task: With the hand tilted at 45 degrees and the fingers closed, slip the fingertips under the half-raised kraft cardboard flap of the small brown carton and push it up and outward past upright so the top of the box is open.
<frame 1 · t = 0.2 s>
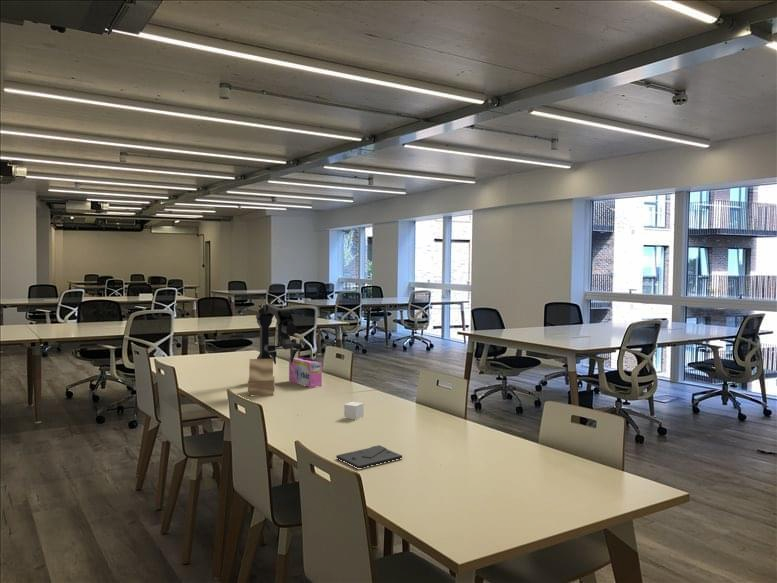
hand: (283, 363, 306), 14 cm above the table, tool pointing down, fingers open, 9 cm apart
flap: (261, 369, 298), point 13 cm above the table, hinge at 59.8°, touching gripper
carton: (261, 393, 302), on the table
gum box: (305, 384, 326), on the table
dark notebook: (369, 461, 200), on the table
white cube: (353, 418, 255), on the table
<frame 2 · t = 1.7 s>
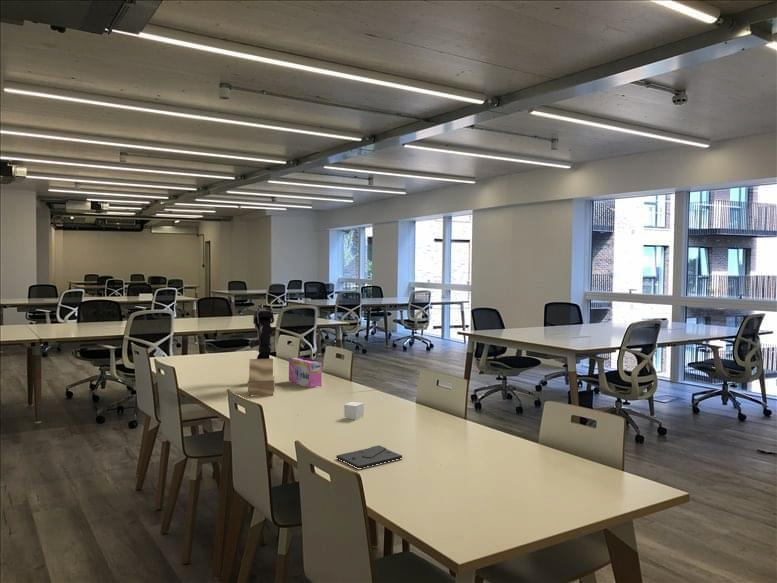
hand: (265, 363, 316), 13 cm above the table, tool pointing down, fingers closed
flap: (261, 369, 298), point 13 cm above the table, hinge at 59.6°
everything else where it was.
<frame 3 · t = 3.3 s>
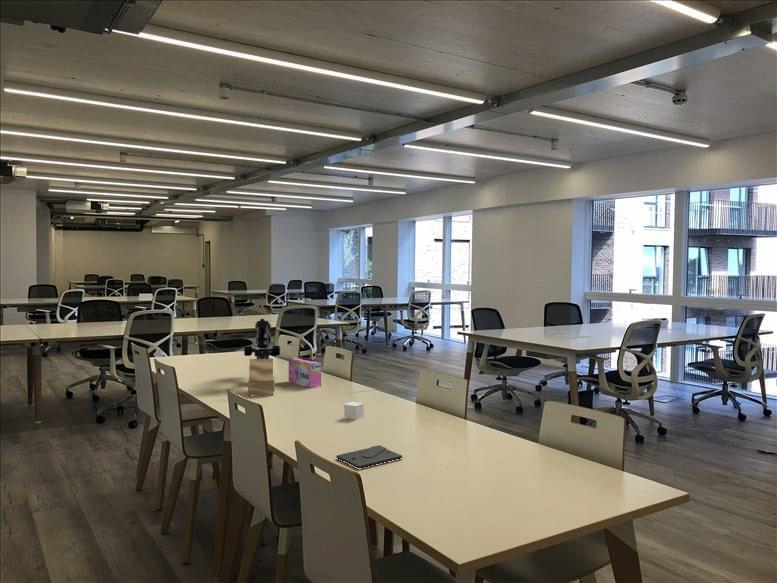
hand: (262, 363, 311), 14 cm above the table, tool tilted 45°, fingers closed
nothing on the table moved.
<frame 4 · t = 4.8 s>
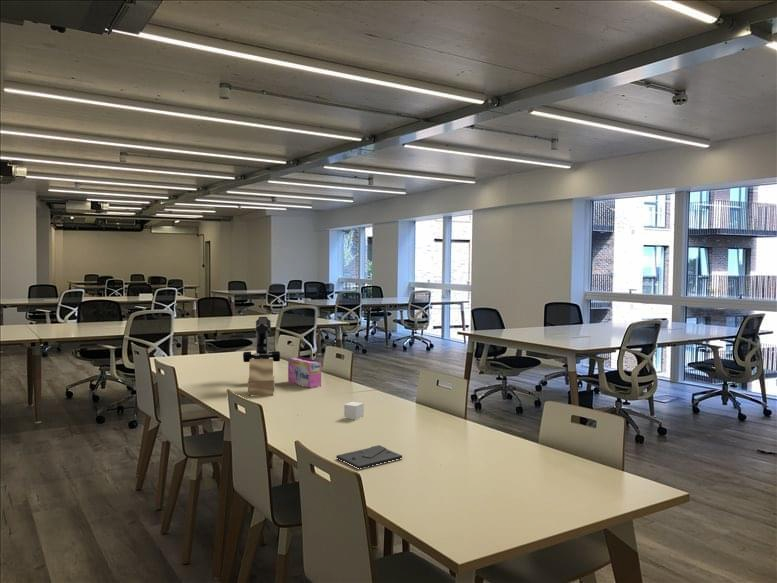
hand: (261, 369, 303), 12 cm above the table, tool tilted 45°, fingers closed
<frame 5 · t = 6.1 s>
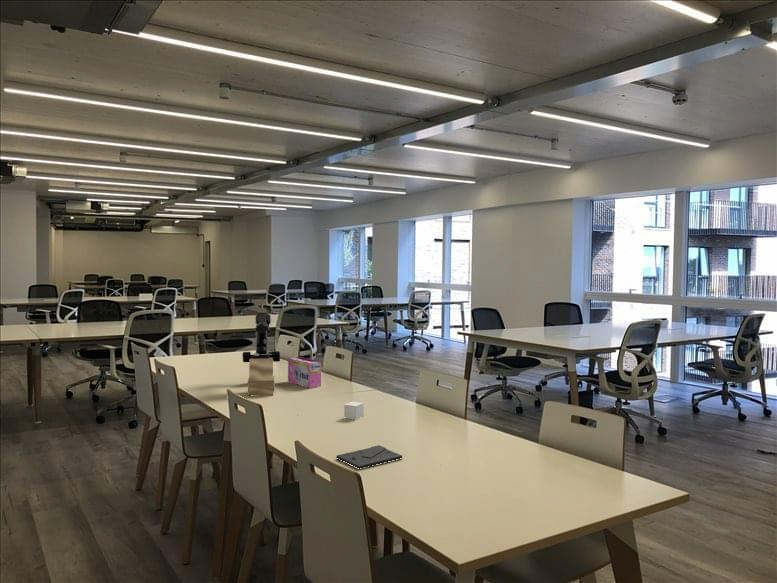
hand: (261, 370, 298), 12 cm above the table, tool tilted 45°, fingers closed, pressing on flap
flap: (261, 369, 298), point 13 cm above the table, hinge at 62.8°, touching gripper
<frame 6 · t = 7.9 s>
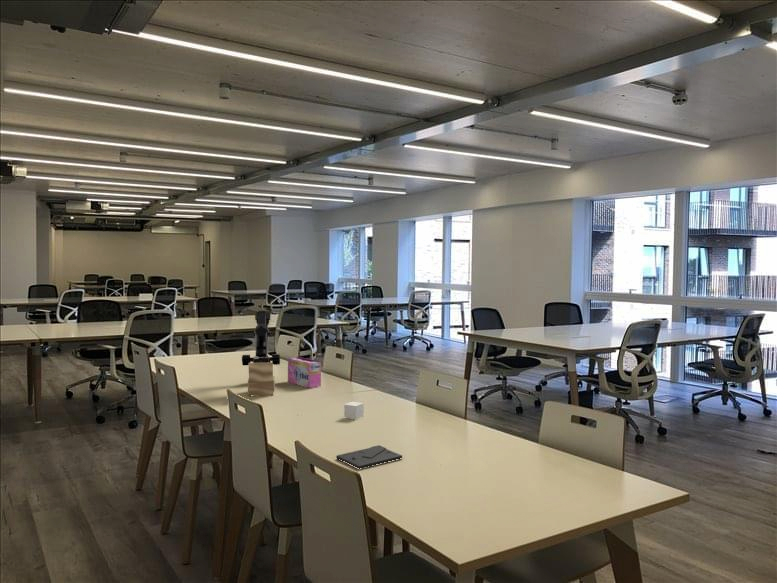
hand: (260, 373, 293), 12 cm above the table, tool tilted 45°, fingers closed, pressing on flap
flap: (260, 372, 292), point 12 cm above the table, hinge at 119.2°, touching gripper
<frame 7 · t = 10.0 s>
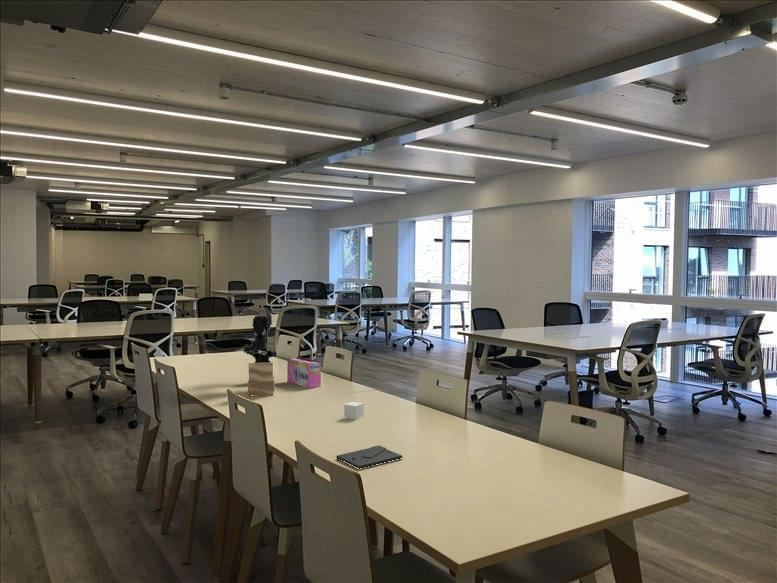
hand: (259, 368, 308), 12 cm above the table, tool tilted 20°, fingers closed
flap: (260, 372, 292), point 12 cm above the table, hinge at 119.3°
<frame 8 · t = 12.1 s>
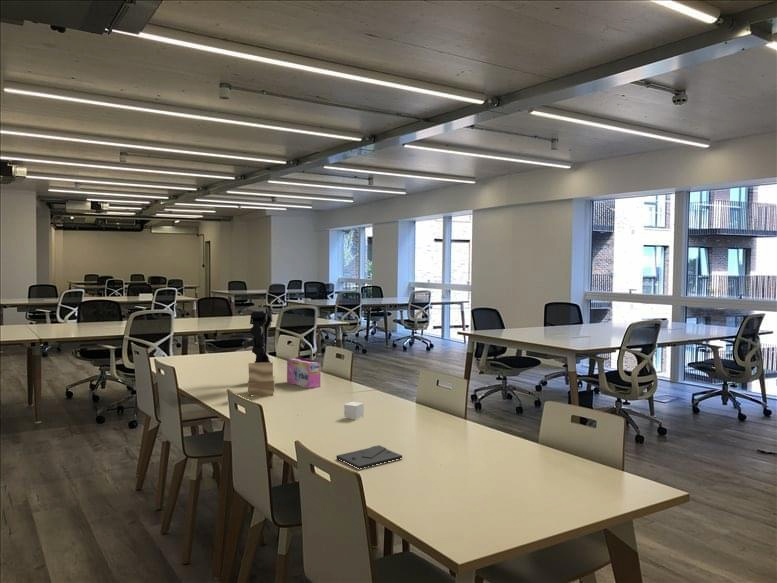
hand: (258, 363, 313), 13 cm above the table, tool pointing down, fingers closed
at the end: flap at +119° (first picture: +60°); gum box moved 2.3 cm from its start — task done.
